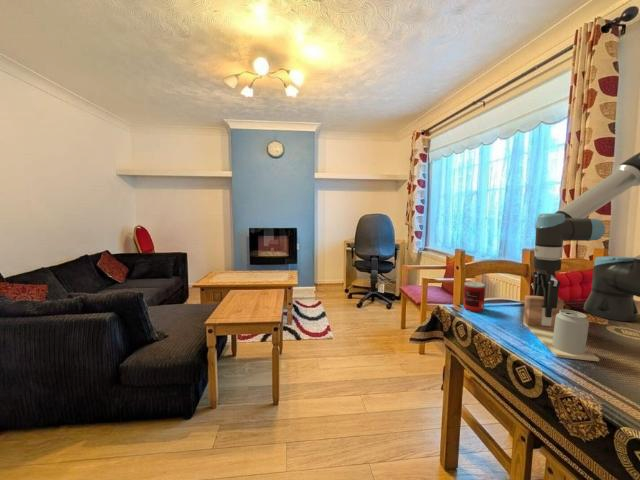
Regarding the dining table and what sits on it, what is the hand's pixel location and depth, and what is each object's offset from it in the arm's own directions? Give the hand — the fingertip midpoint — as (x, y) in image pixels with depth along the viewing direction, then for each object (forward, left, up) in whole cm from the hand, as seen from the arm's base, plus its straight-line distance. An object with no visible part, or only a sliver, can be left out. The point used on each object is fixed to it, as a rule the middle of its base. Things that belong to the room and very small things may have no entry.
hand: (542, 322), depth 103 cm
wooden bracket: (0, +10, -2) cm, 10 cm away
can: (0, +17, -2) cm, 17 cm away
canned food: (+19, -14, -2) cm, 24 cm away
